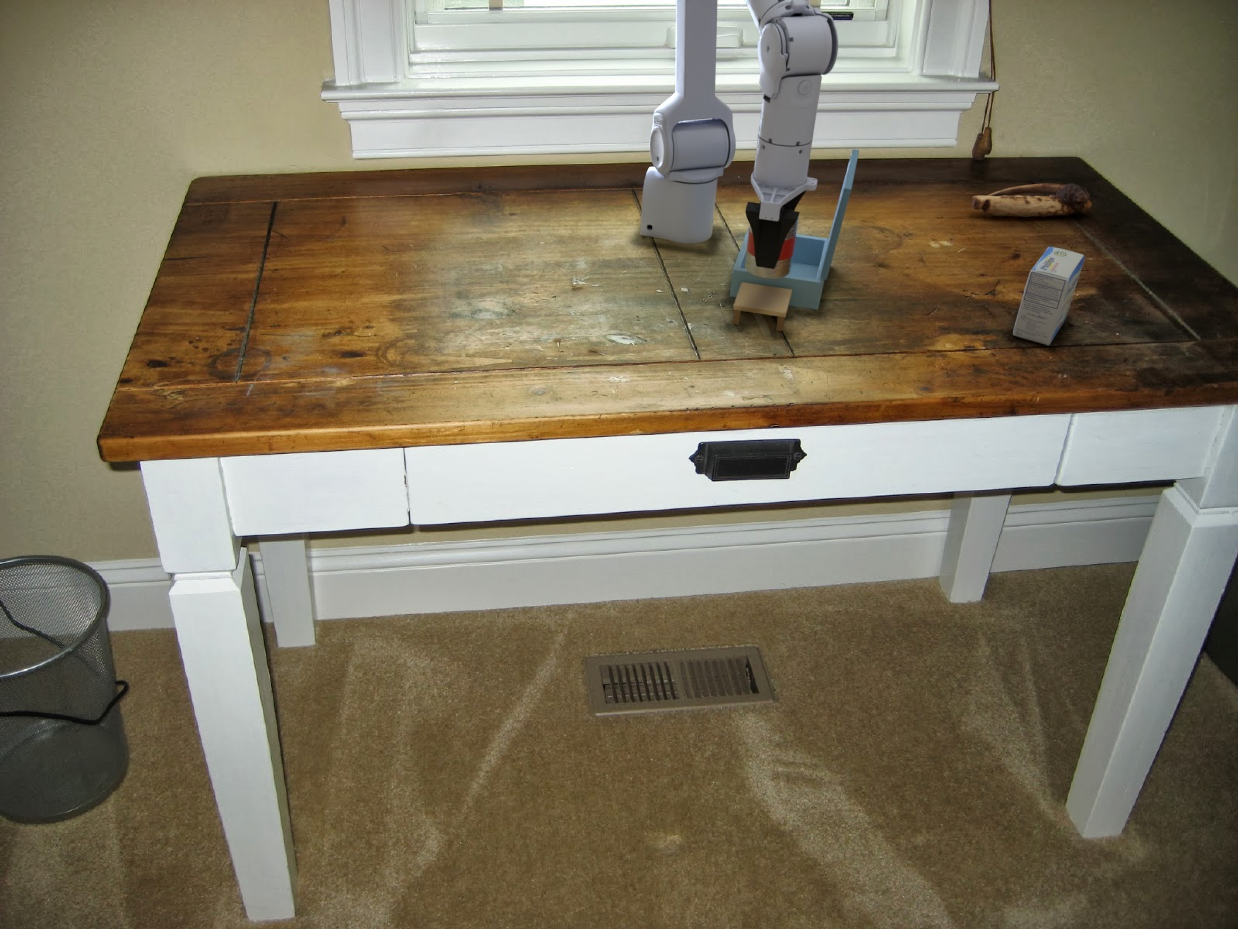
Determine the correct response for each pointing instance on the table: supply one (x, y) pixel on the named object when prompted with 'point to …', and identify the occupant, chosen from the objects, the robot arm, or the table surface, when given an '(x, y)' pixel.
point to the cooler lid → (839, 214)
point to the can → (784, 259)
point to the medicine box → (1048, 295)
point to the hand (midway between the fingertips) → (769, 255)
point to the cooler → (799, 279)
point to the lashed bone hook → (1035, 201)
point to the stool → (762, 302)
